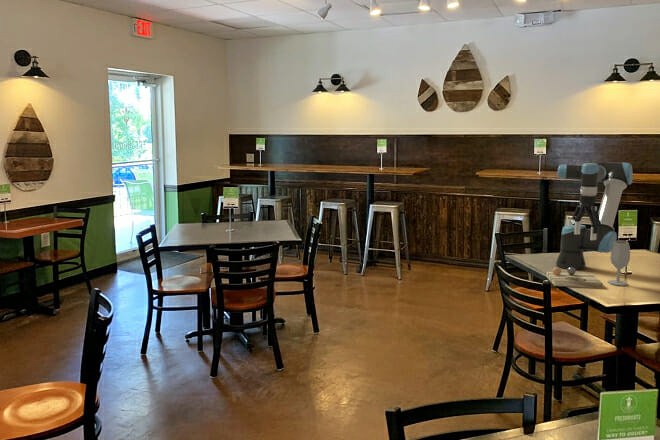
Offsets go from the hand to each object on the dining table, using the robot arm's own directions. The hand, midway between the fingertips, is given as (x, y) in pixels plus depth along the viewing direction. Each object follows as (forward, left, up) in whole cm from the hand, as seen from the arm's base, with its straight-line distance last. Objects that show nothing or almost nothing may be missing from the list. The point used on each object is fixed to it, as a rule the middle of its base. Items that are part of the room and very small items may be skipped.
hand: (585, 237), depth 289 cm
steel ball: (+2, -6, -17) cm, 18 cm away
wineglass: (+6, +15, -22) cm, 27 cm away
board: (+7, -6, -22) cm, 23 cm away
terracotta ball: (+4, -13, -17) cm, 22 cm away
